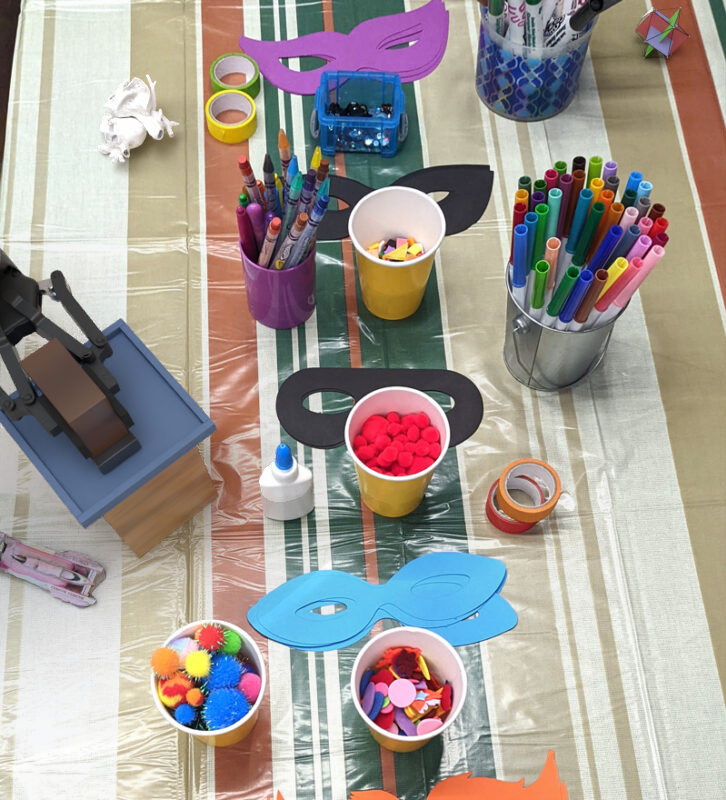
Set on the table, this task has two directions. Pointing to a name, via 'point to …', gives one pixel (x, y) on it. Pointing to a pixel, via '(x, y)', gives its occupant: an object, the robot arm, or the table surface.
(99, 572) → the pink toy racer
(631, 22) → the table surface
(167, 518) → the wooden block
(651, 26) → the geometric puzzle
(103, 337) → the robot arm
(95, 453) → the brown angled block
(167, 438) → the tray
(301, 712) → the table surface
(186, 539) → the table surface
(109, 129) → the heart
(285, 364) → the table surface
